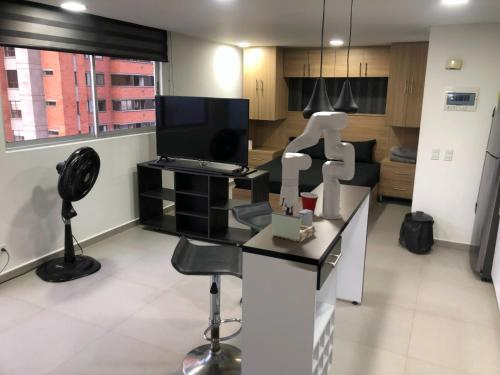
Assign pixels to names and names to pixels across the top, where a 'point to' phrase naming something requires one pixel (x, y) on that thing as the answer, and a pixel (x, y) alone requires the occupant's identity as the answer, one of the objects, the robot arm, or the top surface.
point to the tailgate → (286, 225)
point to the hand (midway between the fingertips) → (289, 220)
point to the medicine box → (305, 217)
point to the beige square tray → (302, 233)
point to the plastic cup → (309, 201)
